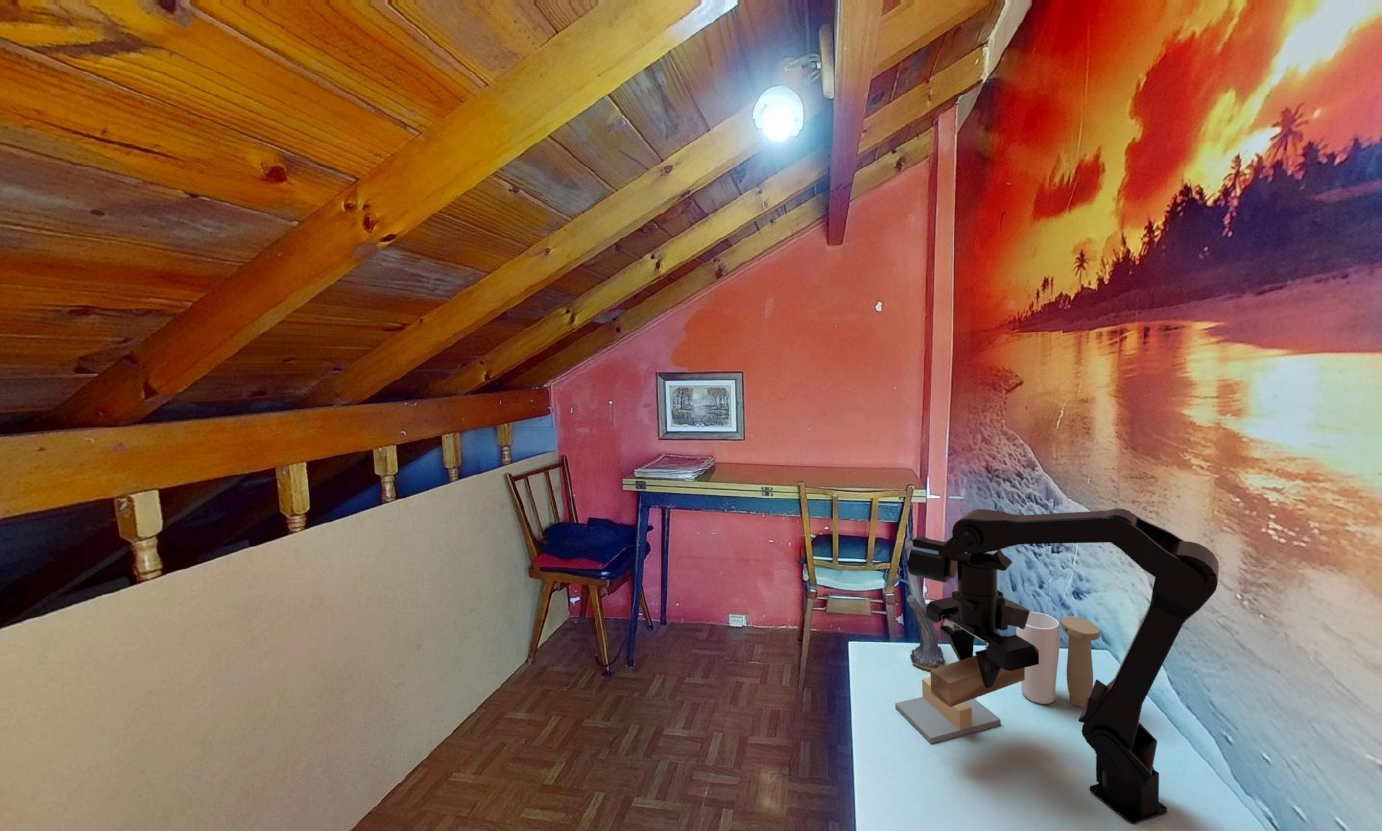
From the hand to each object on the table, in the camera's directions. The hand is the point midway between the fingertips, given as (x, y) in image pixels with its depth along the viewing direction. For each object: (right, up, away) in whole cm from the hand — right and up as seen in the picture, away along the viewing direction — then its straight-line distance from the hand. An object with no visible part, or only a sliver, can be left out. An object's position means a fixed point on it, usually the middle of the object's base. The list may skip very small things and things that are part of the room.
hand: (978, 679), depth 92 cm
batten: (0, -1, 0) cm, 1 cm away
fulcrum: (-1, -11, +8) cm, 14 cm away
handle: (+23, -9, +9) cm, 26 cm away
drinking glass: (+17, -9, +12) cm, 23 cm away
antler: (+2, -8, +28) cm, 29 cm away
